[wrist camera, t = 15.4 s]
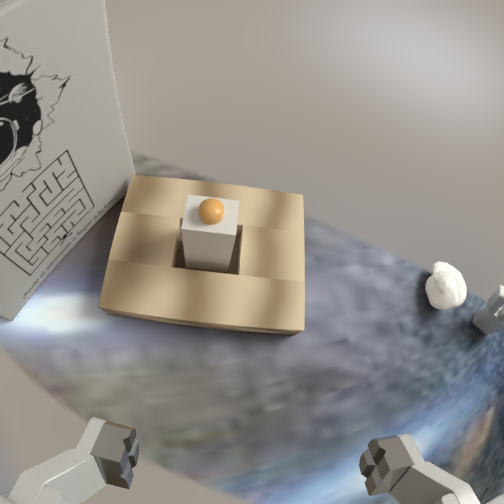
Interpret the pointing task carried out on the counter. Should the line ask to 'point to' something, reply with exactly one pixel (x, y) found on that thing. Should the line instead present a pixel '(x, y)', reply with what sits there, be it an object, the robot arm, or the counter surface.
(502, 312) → the lighter
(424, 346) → the counter surface
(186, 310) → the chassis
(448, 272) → the dumpling
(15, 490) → the robot arm
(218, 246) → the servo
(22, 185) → the cereal box
